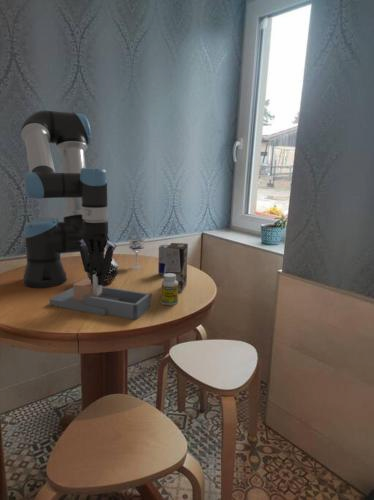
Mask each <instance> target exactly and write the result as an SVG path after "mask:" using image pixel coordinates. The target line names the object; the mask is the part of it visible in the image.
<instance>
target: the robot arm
mask: <svg viewBox="0 0 374 500" xmlns="http://www.w3.org/2000/svg"><path fill="white" fill-rule="evenodd" d="M91 132H92V131H91V126H90V122H89V120H88V118H87V116H86V115H85V114H84V113H77V112H70V111H69V112H65V111H56V110H53V111H52V110H45V109H43V110H39V111H35V112H34V113H33V112H32V114H30V115H29V116H27V117H26V118H25V119H24V121H23V123H22V125H21V127H20V136H21V139H22V141H23V143H24V144H25V148H26V149H25V150H26V155H27V163H28V170H29V172H26V173H24V176H23V180H24V181H23V182H24V190H25V192H24V193H25V195H26V197H27V198H30V199H32V198H33V199H34V198H35V199H55V198H61V199H62V198H65V205H66V207H65V208H66V214H65V215H64V216H63V217H62V220H63V221H60V220H59V219H58V218H56V217H48V218H47V217H45V218H41V219H36V220H32V221H29V222H27V223H26V224H25V225H24V237H23V238H25V241H24V242H25V253H26V266H25V270H24V274H23V277H22V279H23V282H22V283H23V285H24V284H25V285H24V286H26V287H30V288H50V287H55V286H58V285H61V284H64V283H65V282H67V279H68V278H67V272H66V270H65V269H64V266H63V264H62V261H61V254H65V253H68V254H69V253H78V252H79V253H80V257H81V261H82V265H83V269H84V272H86V273H89V275H90V280H91V284H93V295H97V296H98V295H99V294H101V293H102V286H103V285H104V281H105V278H104V277H105V275H107V274H108V273H109V272H110V270H111V269H110V268H111V264H112V260H113V255H114V251H115V249H116V248H117V243H116V244H115V243H112V242H110V238H109V236H108V234H109V221H108V219H109V210H108V209H109V208H108V207H109V205H108V175H107V169H105V168H102V167H101V168H100V167H86V157H85V152H86V151H87V150H88V149H89V148H88V146H89V145H91V142H92V133H91ZM50 144H56V150H57V151H59V152H60V153H61V154H60V155H61V163H62V165H61V166H62V172H56V169H55V165H54V164H55V163H54V161H53V157H52V152H51V147H50ZM104 253H105V254H104Z"/></svg>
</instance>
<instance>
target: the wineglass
mask: <svg viewBox="0 0 374 500" xmlns="http://www.w3.org/2000/svg"><path fill="white" fill-rule="evenodd" d="M144 242H145V239H141V238H132V239H131V238H130V239H128V248H129V250H130V251H131V252H133V253H134V254H135V265H134V266H131V267H130V268H131V269H132V270H140V269H141V270H142V269H143V266H140V265H138V254H139V253H140V252H142V251H143V250H145V243H144Z"/></svg>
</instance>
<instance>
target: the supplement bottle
mask: <svg viewBox="0 0 374 500" xmlns="http://www.w3.org/2000/svg"><path fill="white" fill-rule="evenodd" d="M161 303H162V304H163V305H165V306H174V305H176V304H178V303H179V292H178V282H177V281H176V274H173V273H166V274H164V276H163V280H162V281H161Z"/></svg>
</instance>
